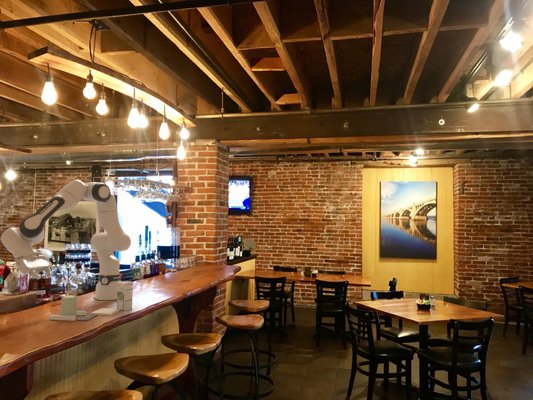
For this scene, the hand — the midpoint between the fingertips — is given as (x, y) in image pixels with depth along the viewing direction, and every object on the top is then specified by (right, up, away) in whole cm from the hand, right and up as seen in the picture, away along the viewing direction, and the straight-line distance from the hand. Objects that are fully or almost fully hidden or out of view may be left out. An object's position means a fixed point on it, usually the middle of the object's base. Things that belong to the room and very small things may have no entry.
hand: (45, 277), depth 192 cm
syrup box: (+32, -21, +17) cm, 42 cm away
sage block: (+12, -19, -2) cm, 23 cm away
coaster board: (+26, -20, +8) cm, 34 cm away
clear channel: (+15, -19, -2) cm, 25 cm away
